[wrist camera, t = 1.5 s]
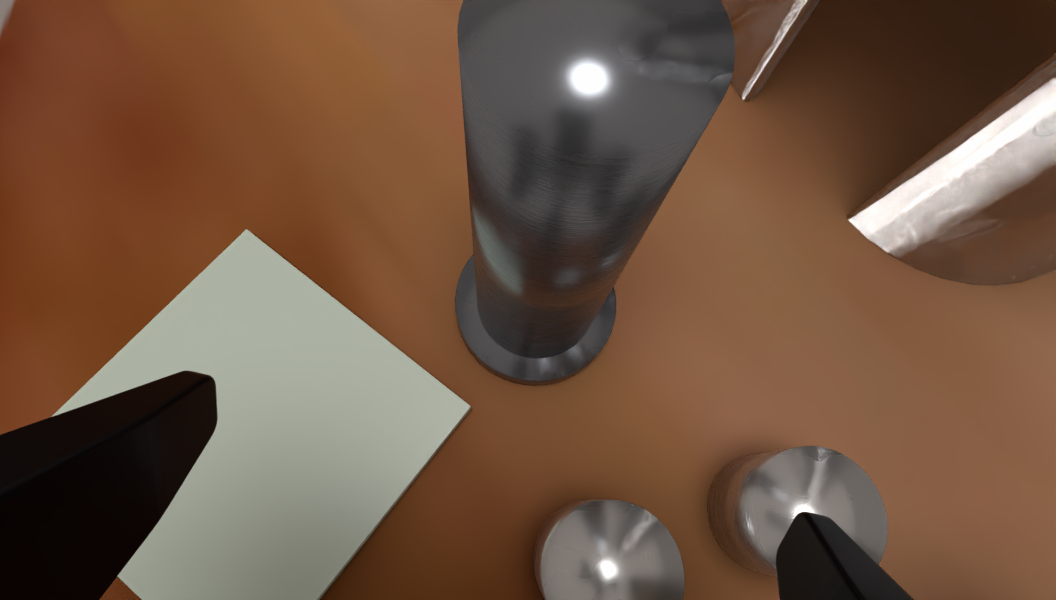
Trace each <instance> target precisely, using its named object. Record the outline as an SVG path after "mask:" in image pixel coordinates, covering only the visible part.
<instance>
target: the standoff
mask: <svg viewBox="0 0 1056 600" xmlns="http://www.w3.org/2000/svg"><path fill="white" fill-rule="evenodd" d="M458 48H459V62H460V76H461V89H462V103H463V117H464V130H465V144H466V158H467V171H468V185H469V199H470V212H471V226H472V240H473V255H472V257H471V258H470V259H469V261H468V262H467V264H466V265H465V267H464V269H463V271H462V273H461V276H460V278H459V281H458V285H457V289H456V298H455V303H456V314H457V320H458V325H459V329H460V332H461V335H462V338H463V340H464V342H465V344H466V346H467V348H468V349H469V351H470V352H471V354H472V355H473V356H474V357H475V358H476V360H477V361H478V362H479V363H480V364H481V365H483V366H484V367H485V368H486V369H487V370H489V371H490V372H492V373H493V374H495V375H497V376H499V377H501V378H503V379H505V380H508V381H511V382H514V383H518V384H523V385H535V386H536V385H548V384H553V383H557V382H560V381H563V380H566V379H568V378H570V377H572V376H574V375H576V374H577V373H579V372H580V371H582V370H583V369H584V368H585V367H587V366H588V365H589V364H590V363H591V362H592V361H593V360H594V358H595V357H596V356H597V355H598V353H599V352H600V351H601V349H602V348H603V346H604V345H605V343H606V342H607V340H608V338H609V336H610V333H611V331H612V328H613V325H614V321H615V314H616V297H615V291H614V287H613V286H614V285H615V283H616V281H617V279H618V278H619V276H620V274H621V273H622V271H623V269H624V267H625V266H626V264H627V262H628V261H629V259H630V257H631V255H632V254H633V252H634V250H635V249H636V247H637V245H638V243H639V242H640V240H641V238H642V237H643V235H644V233H645V231H646V230H647V228H648V226H649V225H650V223H651V221H652V219H653V218H654V216H655V214H656V213H657V211H658V209H659V207H660V206H661V204H662V202H663V201H664V199H665V197H666V195H667V194H668V192H669V190H670V189H671V187H672V185H673V183H674V182H675V180H676V178H677V176H678V175H679V173H680V171H681V170H682V168H683V166H684V164H685V163H686V161H687V159H688V158H689V156H690V154H691V152H692V151H693V149H694V147H695V146H696V144H697V142H698V140H699V139H700V137H701V135H702V134H703V132H704V130H705V128H706V127H707V125H708V123H709V122H710V120H711V118H712V116H713V115H714V113H715V111H716V110H717V108H718V106H719V104H720V103H721V101H722V99H723V98H724V95H725V93H726V91H727V89H728V87H729V85H730V82H731V78H732V74H733V71H734V63H735V40H734V35H733V30H732V26H731V23H730V20H729V17H728V15H727V12H726V10H725V8H724V6H723V4H722V3H721V1H720V0H463V3H462V6H461V10H460V13H459V21H458Z"/></svg>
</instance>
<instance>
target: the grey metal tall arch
mask: <svg viewBox="0 0 1056 600" xmlns="http://www.w3.org/2000/svg"><path fill="white" fill-rule="evenodd" d="M720 1H721V3H722V4H723V6H724V8H725V10H726V12H727V15H728V17H729V20H730V23H731V26H732V30H733V35H734V40H735V63H734V71H733V74H732V78H731V82H730V83H731V84H732V86H733V87H734V88H735V90H736V91H737V93H738V94H739V95H740V97H741V98H742V99H743V101H745V102H747V101H749V100H751V99H753V98H754V97H756V96H757V95H758V93H759V92H760V90H761V89H762V87H763V86H764V84H765V83H766V81H767V80H768V78H769V77H770V75H771V74H772V72H773V71H774V69H775V68H776V66H777V65H778V63H779V62H780V60H781V59H782V57H783V56H784V54H785V53H786V51H787V50H788V48H789V47H790V45H791V44H792V42H793V41H794V39H795V38H796V36H797V35H798V33H799V32H800V30H801V29H802V27H803V25H804V24H805V22H806V21H807V19H808V18H809V16H810V15H811V13H812V12H813V10H814V9H815V7H816V6H817V4H818V3H819V1H820V0H720ZM847 219H848V220H849V221H850V222H851V223H852V224H853V225H854V226H855V227H856V228H857V229H858V230H859V231H860V232H861V233H862V234H863V235H864V236H865V237H867V238H868V239H869V240H871V241H872V242H873V243H875V244H876V245H877V246H879V247H880V248H882V249H883V250H884V251H886V252H887V253H888V254H890V255H892V256H893V257H895V258H897V259H899V260H901V261H903V262H904V263H906V264H908V265H910V266H912V267H914V268H916V269H918V270H921V271H924V272H926V273H929V274H932V275H935V276H937V277H940V278H943V279H948V280H953V281H957V282H962V283H967V284H979V285H1002V284H1010V283H1018V282H1023V281H1026V280H1029V279H1032V278H1035V277H1038V276H1041V275H1044V274H1046V273H1049V272H1051V271H1054V270H1056V52H1055V53H1054V54H1052V55H1051V56H1050V57H1049V58H1047V59H1046V60H1045V61H1043V62H1042V63H1041V64H1040V65H1038V66H1037V67H1036V68H1035V69H1033V70H1032V71H1031V72H1029V73H1028V74H1027V75H1026V76H1024V77H1023V78H1022V79H1021V80H1019V81H1018V82H1017V83H1015V84H1014V85H1013V86H1012V87H1010V88H1009V89H1008V90H1007V91H1005V92H1004V93H1003V94H1001V95H1000V96H999V97H998V98H996V99H995V100H994V101H993V102H991V103H990V104H989V105H987V106H986V107H985V108H984V109H982V110H981V111H980V112H979V113H977V114H976V115H975V116H973V117H972V118H971V119H970V120H968V121H967V122H966V123H965V124H963V125H962V126H961V127H959V128H958V129H957V130H956V131H954V132H953V133H952V134H951V135H949V136H948V137H947V138H945V139H944V140H943V141H942V142H940V143H939V144H938V145H937V146H935V147H934V148H933V149H931V150H930V151H929V152H928V153H926V154H925V155H924V156H923V157H921V158H920V159H919V160H917V161H916V162H915V163H914V164H912V165H911V166H910V167H909V168H907V169H906V170H905V171H903V172H902V173H901V174H900V175H898V176H897V177H896V178H895V179H893V180H892V181H891V182H889V183H888V184H887V185H886V186H884V187H883V188H882V189H881V190H879V191H878V192H877V193H875V194H874V195H873V196H872V197H870V198H869V199H868V200H867V201H865V202H864V203H863V204H861V205H860V206H859V207H858V208H856V209H855V210H854V211H853V212H851V213H850V214H849V215H848V216H847Z"/></svg>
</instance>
